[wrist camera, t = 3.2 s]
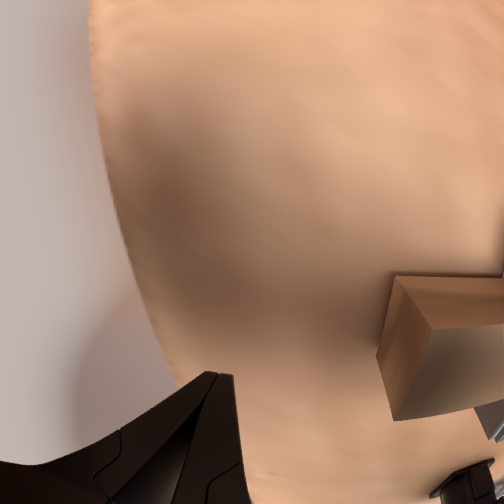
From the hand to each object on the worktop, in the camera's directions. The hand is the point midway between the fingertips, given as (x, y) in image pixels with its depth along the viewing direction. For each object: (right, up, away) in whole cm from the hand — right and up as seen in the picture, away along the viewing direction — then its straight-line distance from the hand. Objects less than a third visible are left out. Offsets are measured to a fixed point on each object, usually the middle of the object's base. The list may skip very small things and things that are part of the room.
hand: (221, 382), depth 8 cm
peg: (+11, +1, +2) cm, 12 cm away
